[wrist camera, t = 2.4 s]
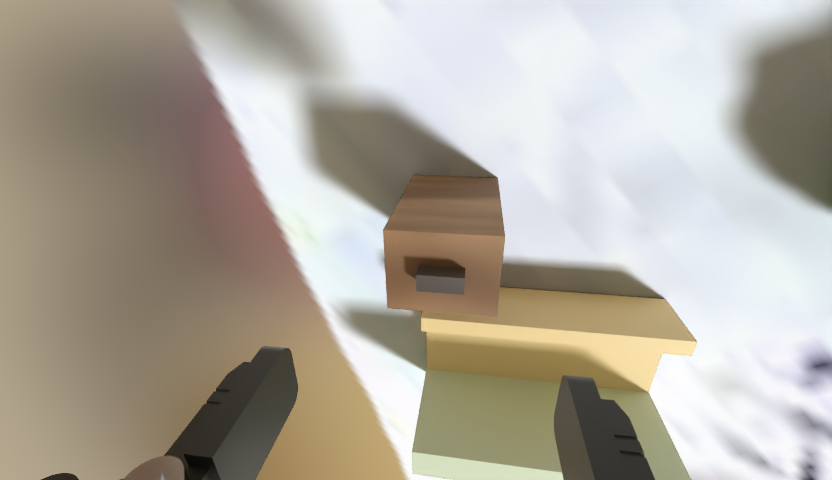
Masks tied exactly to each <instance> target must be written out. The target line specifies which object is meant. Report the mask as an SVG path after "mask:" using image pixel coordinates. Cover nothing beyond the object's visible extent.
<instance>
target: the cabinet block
mask: <svg viewBox="0 0 832 480" xmlns="http://www.w3.org/2000/svg"><path fill="white" fill-rule="evenodd" d="M383 235H384V253H385V272H386V290H387V308H392V309H404V310H416V311H428V312H440V313H452V314H464V315H476V316H488V317H497V311H498V301H499V291H500V281H501V271H502V261H503V252H504V242H505V233H504V225H503V217H502V209H501V201H500V193H499V185H498V178H489V177H459V176H428V175H413V177H412V178H411V180H410V182H409V184H408V186H407V188H406V189H405V191H404V193H403V195H402V197H401V198H400V200H399V202H398V204H397V206H396V208H395V209H394V211H393V213H392V215H391V217H390V219H389V220H388V222H387V224H386V226H385V228H384V229H383Z"/></svg>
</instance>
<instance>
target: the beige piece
mask: <svg viewBox="0 0 832 480" xmlns="http://www.w3.org/2000/svg"><path fill="white" fill-rule="evenodd" d="M421 331H423V332H427V369H426V375H425V381H424V386H423V392H422V398H421V404H420V409H419V415H418V421H417V427H416V432H415V438H414V444H413V449H412V470H413V474H417V475H424V476H431V477H438V478H445V479H452V480H564V479H563V474H562V469H561V464H560V459H559V455H558V450H557V445H556V440H555V434H554V412H555V407H556V402H557V398H558V393H559V388H560V383H561V379H562V376H563V375H568V376H579V377H590V378H593V380H594V381H595V384H596V387H597V389H598V392H599V395H600V398H601V399H607V400H614V401H615V402H616V403H617V404H618V405H619V406H620V408H621V409H622V410H623V411H624V412H625V413H626V414H627V416H628V417H629V418H630V420H631V423H632V425H633V428H634V430H635V432H636V435H637V440H638V441H639V442H640V444H641V447H642V449H643V452H644V457H645V458H646V459H647V461H648V464H649V466H650V468H651V471H652V473H653V475H654V478H655V480H691V479H690V477H689V475H688V472H687V470H686V468H685V466H684V464H683V462H682V460H681V458H680V456H679V454H678V452H677V450H676V448H675V446H674V444H673V442H672V440H671V438H670V435H669V433H668V431H667V429H666V427H665V425H664V423H663V421H662V419H661V417H660V415H659V413H658V411H657V409H656V407H655V405H654V403H653V401H652V398H651V396H650V394H649V390H650V387H651V384H652V381H653V378H654V375H655V373H656V370H657V367H658V364H659V361H660V359H661V356H662V353H663V354H674V355H685V356H692V354H693V352H694V349H695V347H696V344H697V341H696V339H695V338H694V337H693V335H692V334H691V333H690V331H689V330H688V329H687V327H686V326H685V325H684V323H683V322H682V320H681V319H680V318H679V316H678V315H677V314H676V312H675V311H674V310H673V308H672V307H671V306H670V304H669V303H668V302H667V300H666V299H657V298H643V297H630V296H616V295H602V294H588V293H575V292H561V291H547V290H533V289H520V288H506V287H500V291H499V301H498V311H497V317H488V316H476V315H464V314H452V313H440V312H428V311H423V312H422V316H421Z"/></svg>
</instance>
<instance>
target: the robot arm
mask: <svg viewBox="0 0 832 480" xmlns="http://www.w3.org/2000/svg"><path fill="white" fill-rule="evenodd" d="M297 392H298V384H297V378H296V374H295V368H294V364H293V358H292V354H291V351H290V349H289V348H280V347H269V346H264V347H262V348H261V349H260V350H259V351H258V353H257V354H256V356H255V357H254V358H253V360H252V361H251V362H250V363H249V362H243V363H242V364H241V365H239V366H238V367H236V368H235V369H234V370H232V371H231V372H230V373H229V374H227V376H226V377H225V378H224V380H223V381H222V382H221V383H220V385H219V386H218V387H217V389H216V392H213V394H212V395H211V396H210V397H209V399H208V400H207V403H206V404H204V405H203V406H202V408H201V409H200V410H199V412H198V413H197V414H196V416H195V417H194V418H193V419H192V421H191V422H190V423H189V424H188V426H187V427H186V429H185V430H184V431H183V432H182V434H181V435H180V436H179V437H178V439H177V440H176V441H175V442H174V444H173V445H172V446H171V448H170V449H169V450H168V452H167V453H166V454H165V455H164V456H160V457H156V458H153V459H150V460H148V461H146V462H144V463H143V464H141V465H139V466H138V467H136V468H135V469H134V470H132V471H131V472H130V473H129V474H128V475H127V476H126V477H125V478H124V479H121V480H255V479H256V477H257V476H258V474H259V472H260V470H261V468H262V466H263V464H264V462H265V460H266V458H267V456H268V454H269V452H270V450H271V449H272V447H273V445H274V443H275V441H276V439H277V437H278V435H279V433H280V431H281V429H282V427H283V425H284V423H285V421H286V420H287V418H288V416H289V414H290V412H291V410H292V408H293V406H294V404H295V401H296V398H297ZM554 434H555V440H556V445H557V450H558V455H559V459H560V464H561V469H562V474H563V479H564V480H655V478H654V475H653V473H652V471H651V468H650V466H649V464H648V461H647V459H646V458H645V457H644V452H643V449H642V447H641V444H640V442H639V441H638V440H637V435H636V432H635V430H634V428H633V425H632V423H631V420H630V418H629V417H628V416H627V414H626V413H625V412H624V411H623V410H622V409H621V408H620V406H619V405H618V404H617V403H616V402H615V401H614V400H607V399H601V398H600V395H599V392H598V389H597V387H596V384H595V381H594V380H593V378H590V377H579V376H568V375H563V376H562V379H561V383H560V388H559V393H558V398H557V402H556V407H555V412H554ZM42 480H79V479H78V478H77V477H76V476H75V475H73V474H70V473H61V474H55V475H52V476H49V477H46V478H44V479H42Z"/></svg>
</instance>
